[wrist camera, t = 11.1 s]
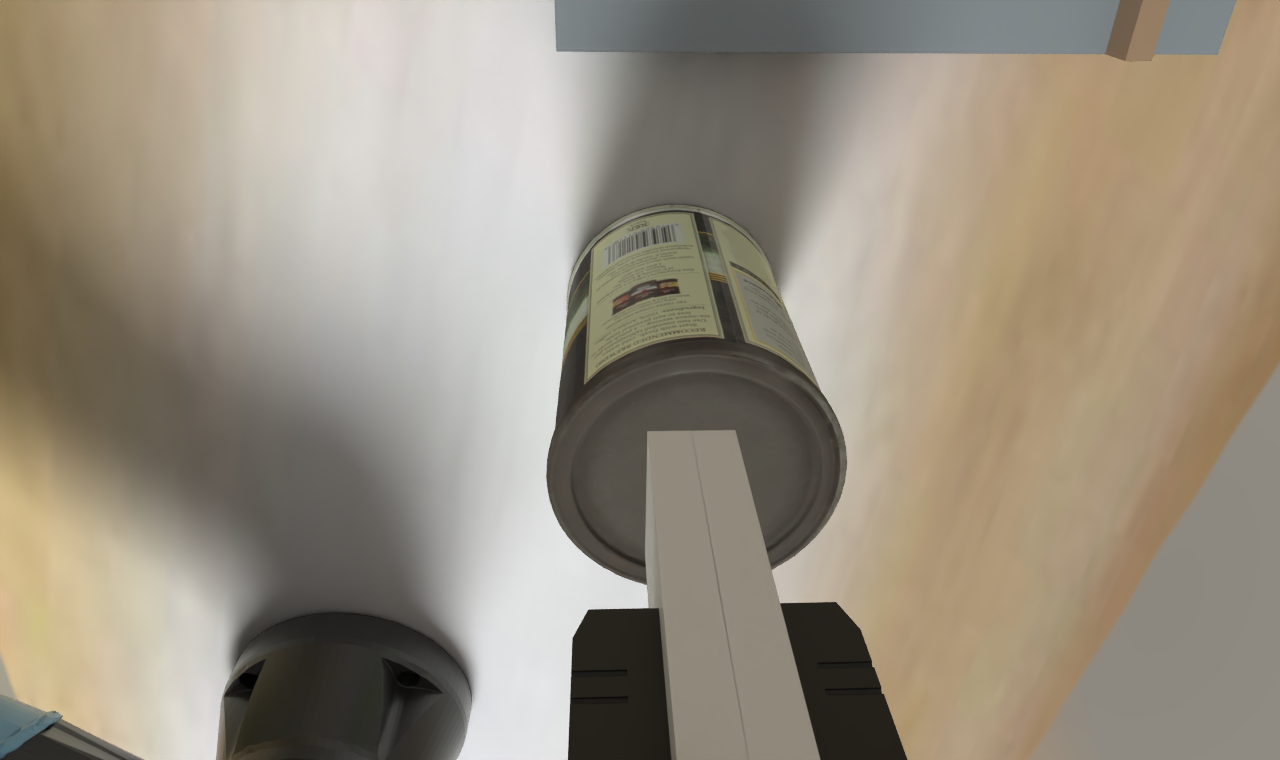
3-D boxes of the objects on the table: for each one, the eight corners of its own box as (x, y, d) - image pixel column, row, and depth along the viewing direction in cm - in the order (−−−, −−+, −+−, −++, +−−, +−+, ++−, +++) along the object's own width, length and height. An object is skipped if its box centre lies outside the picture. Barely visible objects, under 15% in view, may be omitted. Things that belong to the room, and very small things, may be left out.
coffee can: (670, 428, 44) (691, 632, 32) (523, 306, 40) (483, 485, 28) (821, 302, 41) (909, 478, 28) (675, 155, 37) (705, 286, 25)
